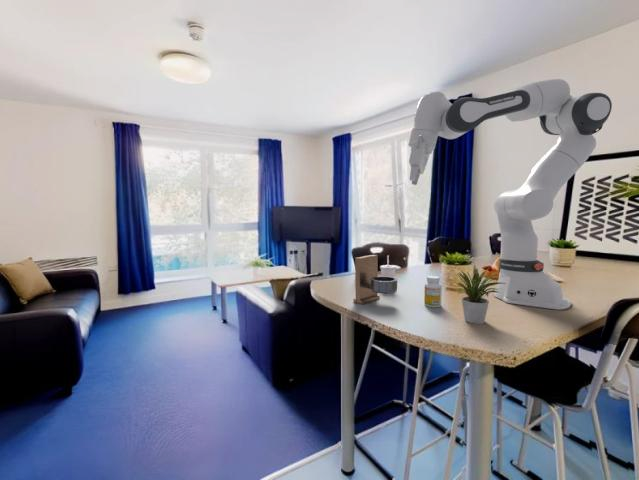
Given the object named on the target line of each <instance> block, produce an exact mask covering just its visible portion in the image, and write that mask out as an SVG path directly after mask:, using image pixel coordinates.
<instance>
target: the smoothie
mask: <svg viewBox="0 0 639 480" xmlns="http://www.w3.org/2000/svg"><path fill="white" fill-rule="evenodd" d="M386 258H387V259H386V261H387V262H386V263H387V264H382V265H380V266H379V269H380V271H381V272H380V274H381V276H388V277H394V278H395V275H396V270H397V266H396V265H392V264H389V263H390V259H389V258H390V255H387V256H386Z"/></svg>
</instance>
